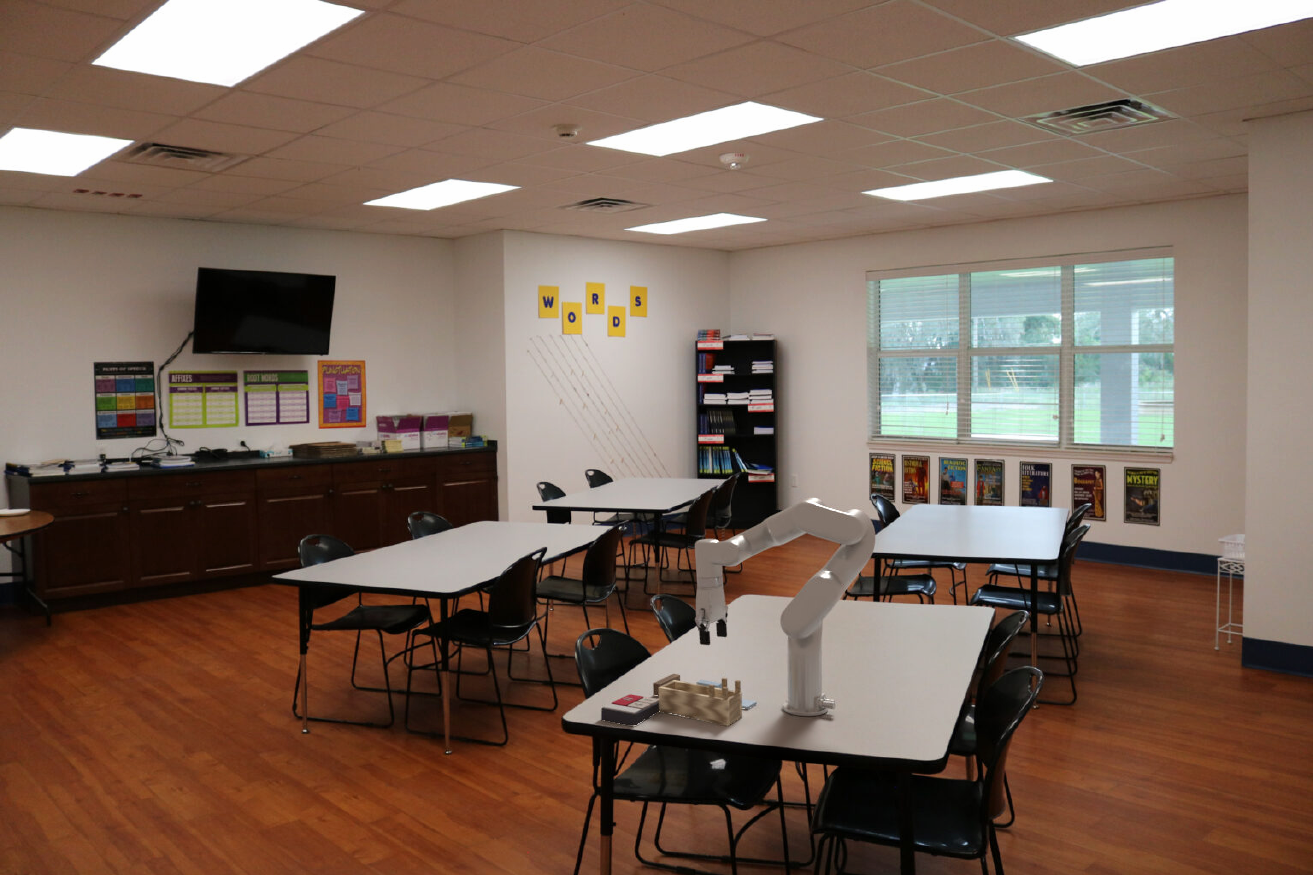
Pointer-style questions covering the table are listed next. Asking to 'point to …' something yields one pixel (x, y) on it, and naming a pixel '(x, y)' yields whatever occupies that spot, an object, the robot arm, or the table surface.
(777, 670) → the table surface
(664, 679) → the brown wooden block
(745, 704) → the lid
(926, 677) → the table surface
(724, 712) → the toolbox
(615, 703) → the grey red box
